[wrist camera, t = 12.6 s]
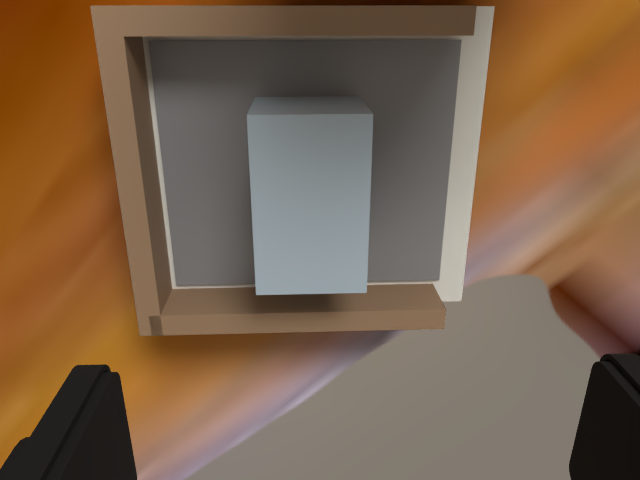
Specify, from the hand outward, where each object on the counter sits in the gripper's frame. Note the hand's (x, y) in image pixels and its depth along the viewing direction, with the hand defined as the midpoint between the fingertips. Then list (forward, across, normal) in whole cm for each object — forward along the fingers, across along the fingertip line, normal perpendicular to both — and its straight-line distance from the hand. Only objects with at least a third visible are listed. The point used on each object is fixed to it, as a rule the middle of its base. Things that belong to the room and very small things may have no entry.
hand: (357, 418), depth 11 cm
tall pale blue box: (+19, +1, 0) cm, 19 cm away
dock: (+22, +1, 0) cm, 22 cm away
